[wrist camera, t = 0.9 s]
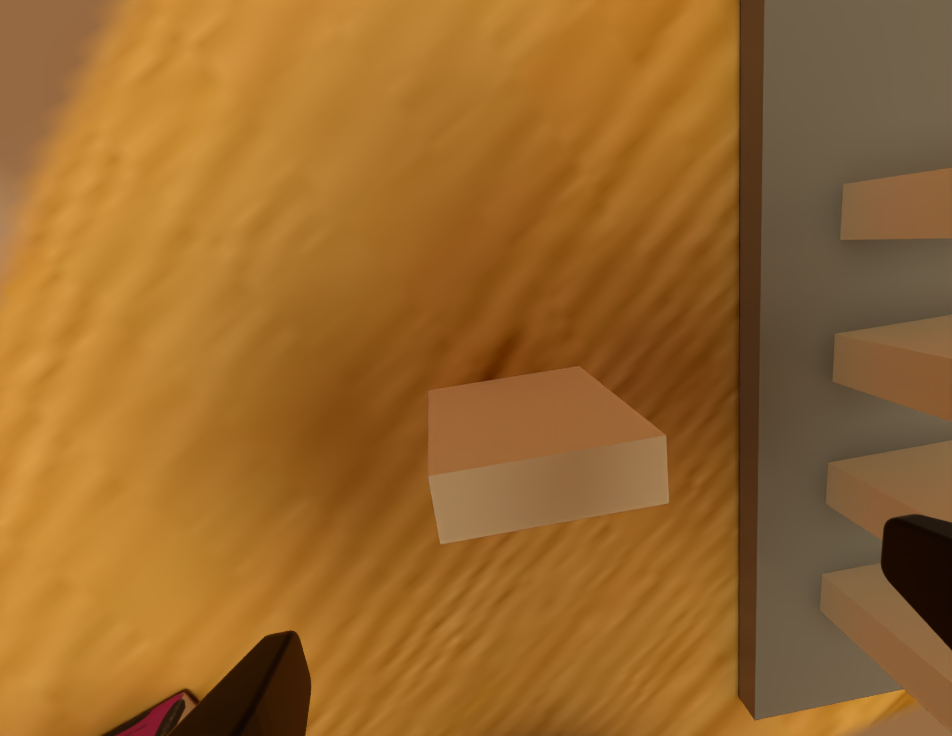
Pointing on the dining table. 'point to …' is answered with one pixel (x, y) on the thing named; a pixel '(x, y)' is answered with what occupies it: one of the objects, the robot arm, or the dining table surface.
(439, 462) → the domino
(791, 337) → the metal plate
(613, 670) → the dining table surface
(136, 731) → the candy bar box
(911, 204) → the domino
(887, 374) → the domino
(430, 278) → the dining table surface
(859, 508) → the domino
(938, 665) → the domino
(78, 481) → the dining table surface
